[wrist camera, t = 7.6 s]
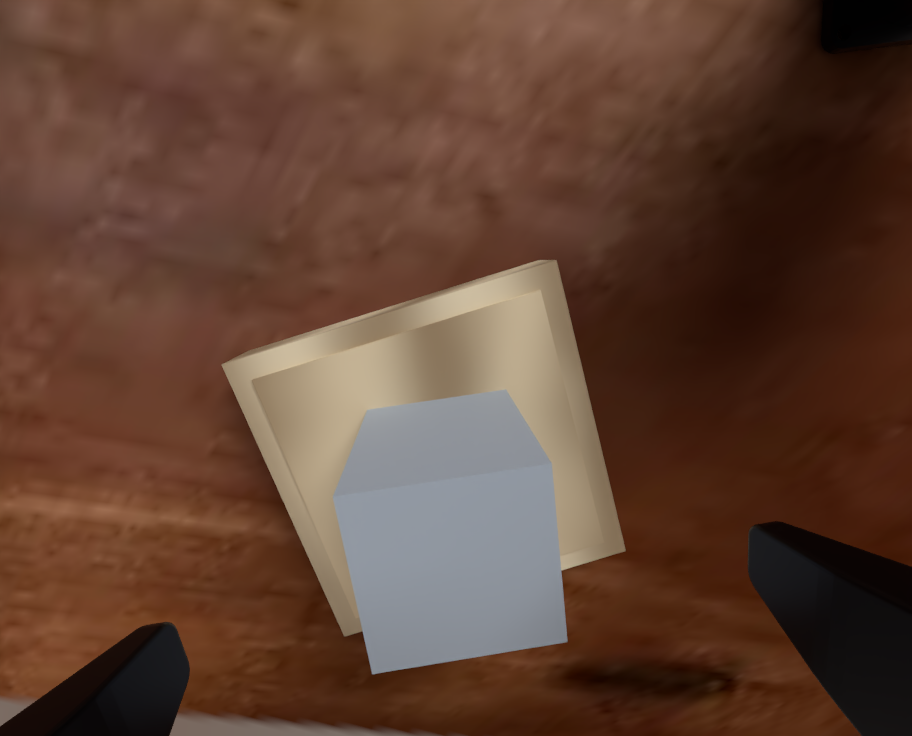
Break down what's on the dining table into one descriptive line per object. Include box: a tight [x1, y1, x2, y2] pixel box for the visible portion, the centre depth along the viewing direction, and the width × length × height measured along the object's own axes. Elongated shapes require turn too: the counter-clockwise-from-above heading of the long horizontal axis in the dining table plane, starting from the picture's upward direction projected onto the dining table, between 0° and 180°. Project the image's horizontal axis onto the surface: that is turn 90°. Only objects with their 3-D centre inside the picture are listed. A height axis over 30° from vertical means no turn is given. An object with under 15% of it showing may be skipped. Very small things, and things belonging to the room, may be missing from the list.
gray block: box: [333, 389, 567, 674], centre depth 14 cm, size 5×5×6 cm
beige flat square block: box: [222, 260, 626, 637], centre depth 18 cm, size 12×12×3 cm
